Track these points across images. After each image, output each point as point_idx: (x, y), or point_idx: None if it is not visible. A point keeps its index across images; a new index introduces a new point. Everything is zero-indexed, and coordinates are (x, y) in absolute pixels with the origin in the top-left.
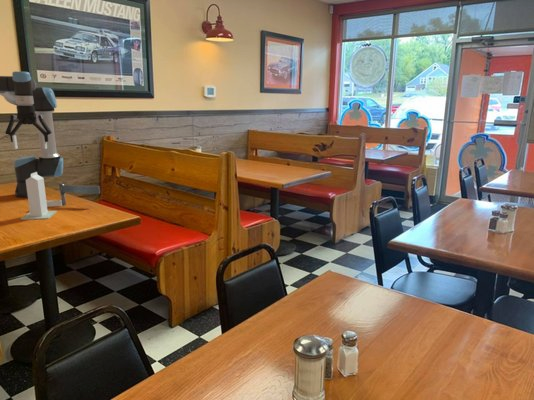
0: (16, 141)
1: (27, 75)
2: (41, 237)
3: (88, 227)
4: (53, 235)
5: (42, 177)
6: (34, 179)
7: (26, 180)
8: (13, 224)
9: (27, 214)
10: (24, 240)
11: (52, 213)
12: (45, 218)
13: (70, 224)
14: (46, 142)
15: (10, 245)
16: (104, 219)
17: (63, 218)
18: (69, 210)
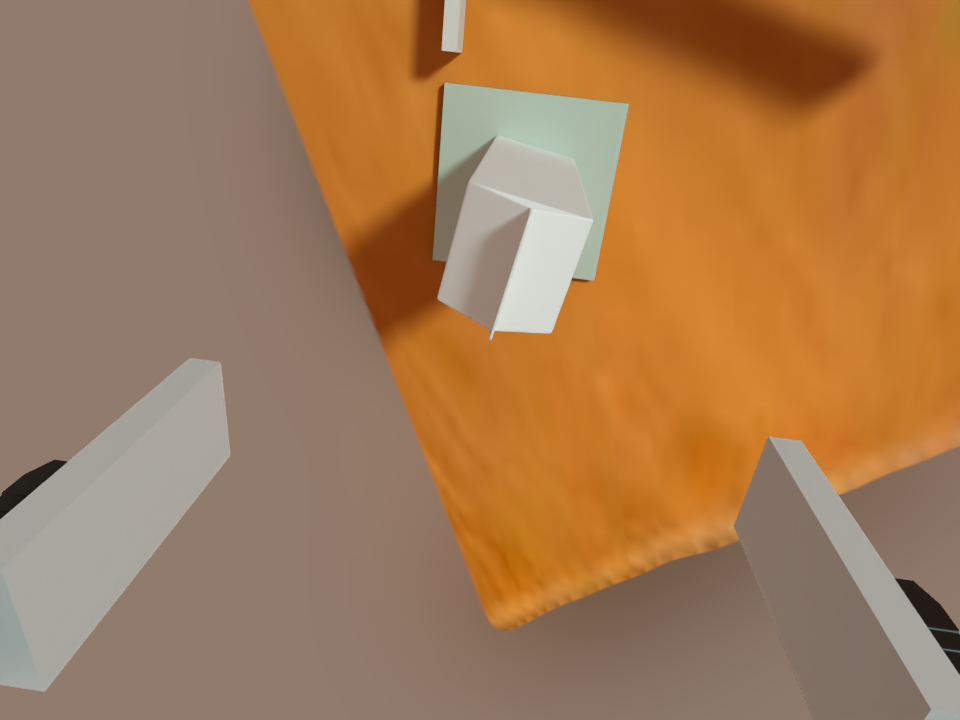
0: (137, 471)
1: None
2: (599, 552)
3: None
4: (647, 542)
5: (583, 223)
6: (524, 325)
7: (446, 300)
8: (422, 338)
9: (446, 165)
10: (538, 566)
11: (606, 178)
12: (575, 277)
13: (721, 412)
14: (856, 532)
15: (500, 600)
16: (922, 368)
17: (681, 287)
18: (718, 79)
